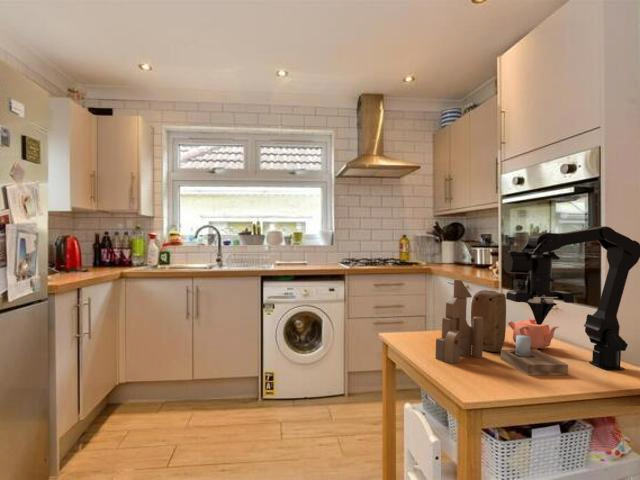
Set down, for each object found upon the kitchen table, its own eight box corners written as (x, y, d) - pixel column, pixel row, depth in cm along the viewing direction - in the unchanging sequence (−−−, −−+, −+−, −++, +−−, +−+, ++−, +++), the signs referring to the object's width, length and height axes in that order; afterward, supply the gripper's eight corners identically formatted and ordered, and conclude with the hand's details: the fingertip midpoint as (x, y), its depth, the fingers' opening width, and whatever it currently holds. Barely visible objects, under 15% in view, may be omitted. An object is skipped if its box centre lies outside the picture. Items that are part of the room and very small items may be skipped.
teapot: (511, 349, 134) (513, 320, 134) (506, 340, 146) (507, 313, 145) (558, 354, 130) (559, 324, 130) (549, 345, 141) (550, 317, 141)
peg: (524, 360, 121) (525, 335, 121) (533, 365, 117) (534, 338, 116) (512, 360, 120) (513, 334, 120) (519, 364, 116) (521, 338, 116)
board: (536, 359, 124) (536, 349, 124) (567, 375, 110) (568, 364, 110) (500, 358, 123) (501, 349, 123) (527, 375, 109) (528, 364, 109)
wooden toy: (452, 364, 116) (455, 282, 116) (435, 358, 122) (437, 279, 121) (484, 357, 124) (487, 280, 124) (466, 351, 130) (469, 277, 130)
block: (507, 351, 132) (509, 292, 132) (495, 354, 128) (497, 294, 127) (477, 343, 141) (479, 288, 140) (465, 346, 136) (467, 289, 136)
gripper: (551, 271, 127) (549, 318, 127) (497, 270, 126) (495, 318, 126) (576, 275, 116) (574, 327, 116) (517, 274, 115) (515, 326, 115)
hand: (538, 324), depth 119 cm, fingers closed
